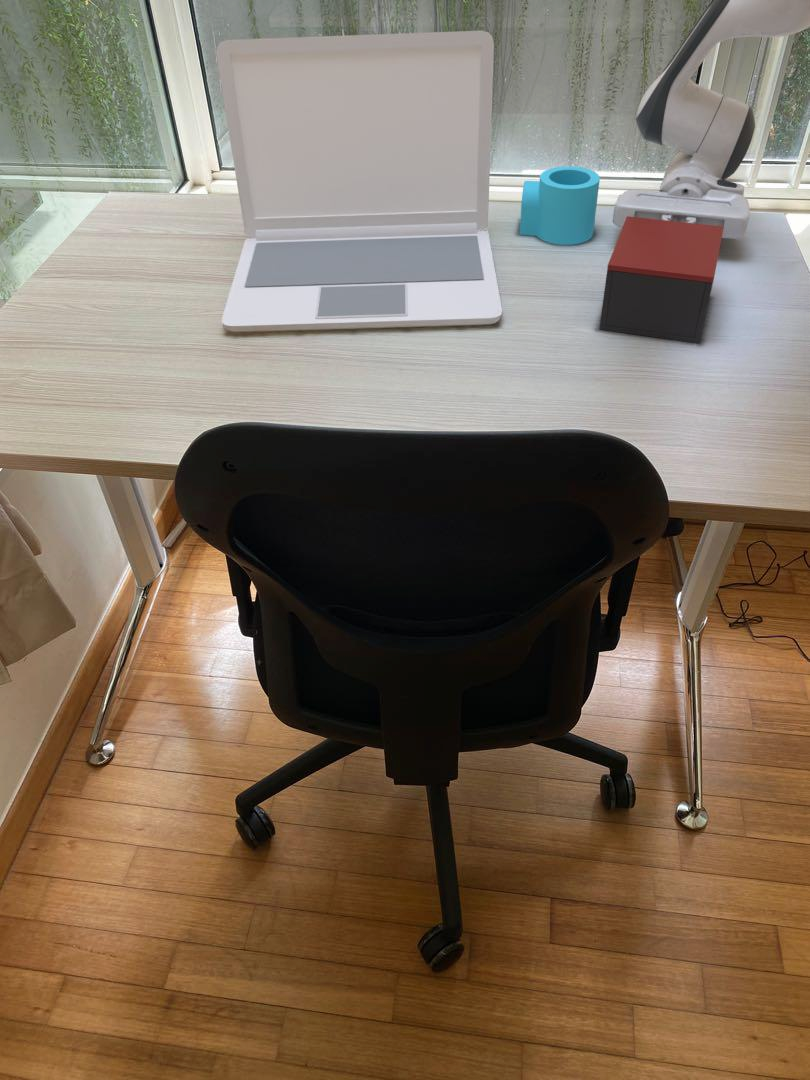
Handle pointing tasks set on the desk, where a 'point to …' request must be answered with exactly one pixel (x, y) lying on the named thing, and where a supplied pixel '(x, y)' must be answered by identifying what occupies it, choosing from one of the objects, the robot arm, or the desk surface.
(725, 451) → the desk surface
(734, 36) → the robot arm
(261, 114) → the laptop
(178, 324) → the desk surface
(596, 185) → the cup
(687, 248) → the lid
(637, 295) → the dark grey box
